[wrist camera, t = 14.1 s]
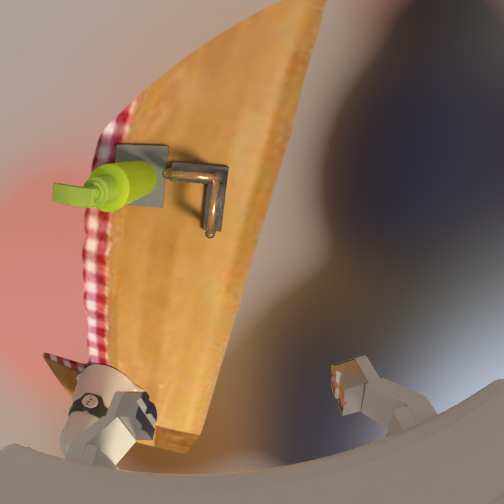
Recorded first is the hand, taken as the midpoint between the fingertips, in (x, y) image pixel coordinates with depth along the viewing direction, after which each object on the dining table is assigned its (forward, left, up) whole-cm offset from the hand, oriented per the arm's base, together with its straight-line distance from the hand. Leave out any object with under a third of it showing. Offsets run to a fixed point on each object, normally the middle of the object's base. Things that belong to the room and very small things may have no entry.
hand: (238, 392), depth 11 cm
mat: (+5, +16, -37) cm, 41 cm away
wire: (+2, +6, -37) cm, 38 cm away
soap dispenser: (+4, +16, -37) cm, 40 cm away
